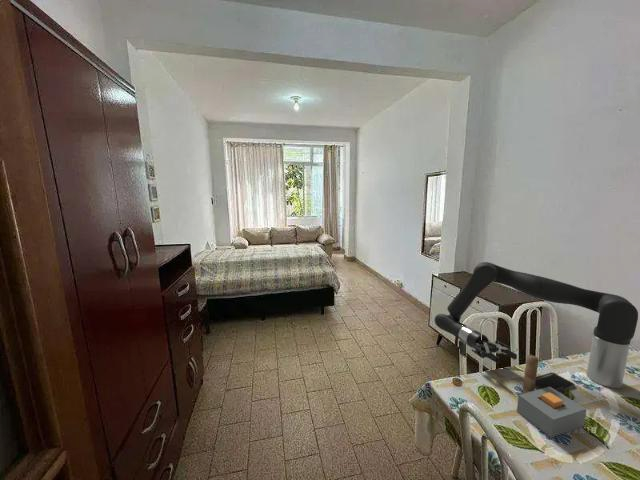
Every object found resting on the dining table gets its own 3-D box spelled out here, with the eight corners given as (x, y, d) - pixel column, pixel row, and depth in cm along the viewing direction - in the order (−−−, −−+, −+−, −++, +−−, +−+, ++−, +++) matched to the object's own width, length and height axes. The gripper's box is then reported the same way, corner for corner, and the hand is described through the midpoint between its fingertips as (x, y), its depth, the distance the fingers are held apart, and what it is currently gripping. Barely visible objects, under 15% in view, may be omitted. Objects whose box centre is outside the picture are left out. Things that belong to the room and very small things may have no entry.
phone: (526, 380, 99) (552, 372, 104) (525, 382, 99) (552, 374, 104) (549, 394, 92) (576, 385, 96) (549, 397, 92) (576, 387, 97)
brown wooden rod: (526, 389, 95) (531, 354, 93) (535, 395, 92) (540, 359, 90) (520, 391, 94) (524, 355, 92) (529, 397, 91) (534, 360, 89)
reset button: (548, 403, 84) (549, 392, 84) (561, 411, 81) (562, 400, 80) (540, 405, 83) (541, 394, 83) (552, 414, 80) (554, 402, 79)
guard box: (547, 402, 89) (549, 386, 88) (583, 426, 80) (586, 408, 79) (516, 411, 85) (518, 395, 84) (550, 437, 76) (553, 419, 75)
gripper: (460, 332, 113) (494, 353, 98) (486, 328, 117) (522, 347, 102) (459, 348, 114) (492, 371, 99) (484, 343, 118) (520, 364, 103)
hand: (507, 359), depth 100 cm, fingers open, 8 cm apart
